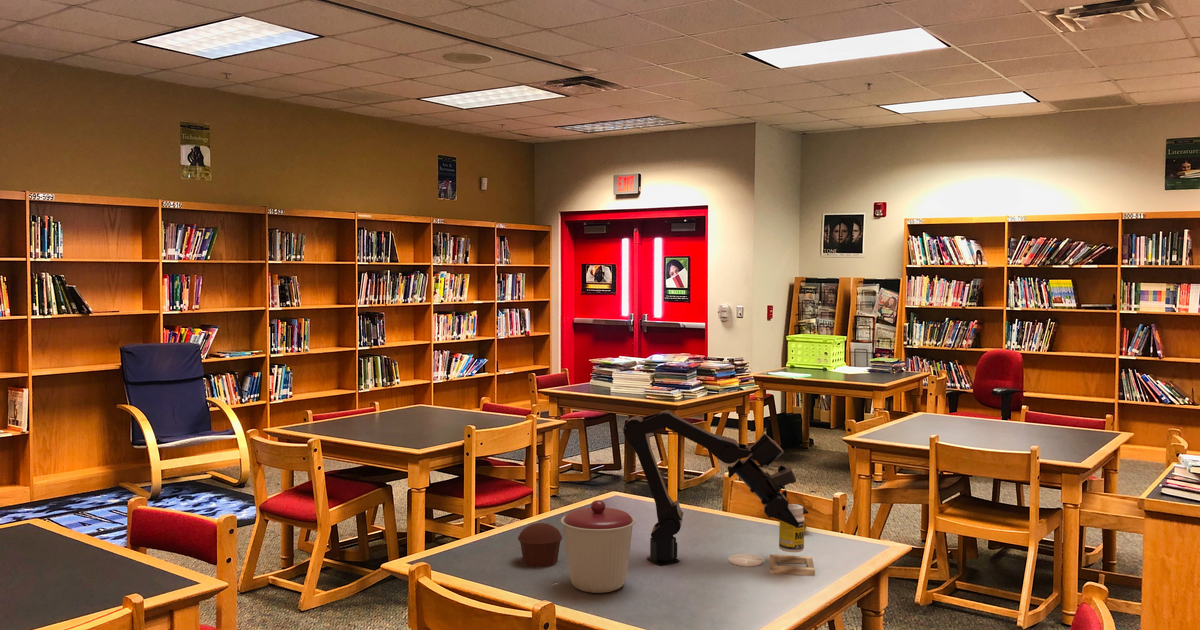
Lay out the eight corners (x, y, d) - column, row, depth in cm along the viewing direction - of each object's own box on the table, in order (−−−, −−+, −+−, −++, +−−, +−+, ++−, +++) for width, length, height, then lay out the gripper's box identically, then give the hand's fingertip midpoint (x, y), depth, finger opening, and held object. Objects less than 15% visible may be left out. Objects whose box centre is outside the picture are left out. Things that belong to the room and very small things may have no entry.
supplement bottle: (797, 554, 231) (798, 510, 230) (774, 549, 235) (775, 506, 234) (808, 548, 236) (809, 505, 236) (785, 544, 240) (786, 501, 239)
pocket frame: (770, 573, 231) (770, 567, 231) (769, 560, 242) (769, 554, 242) (814, 575, 229) (814, 569, 229) (811, 562, 240) (811, 556, 240)
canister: (593, 569, 234) (593, 488, 233) (649, 584, 222) (650, 499, 221) (545, 588, 220) (545, 501, 219) (603, 605, 208) (603, 514, 207)
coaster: (743, 568, 235) (743, 566, 235) (721, 559, 242) (721, 557, 242) (770, 563, 239) (770, 561, 239) (748, 554, 247) (748, 552, 247)
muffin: (556, 554, 247) (556, 517, 246) (567, 566, 236) (567, 528, 236) (513, 558, 243) (513, 521, 243) (522, 570, 233) (522, 532, 232)
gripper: (778, 464, 226) (823, 510, 225) (776, 450, 244) (817, 493, 243) (746, 494, 227) (790, 540, 226) (746, 478, 246) (787, 520, 245)
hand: (797, 522), depth 235 cm, fingers closed on supplement bottle, 6 cm apart
